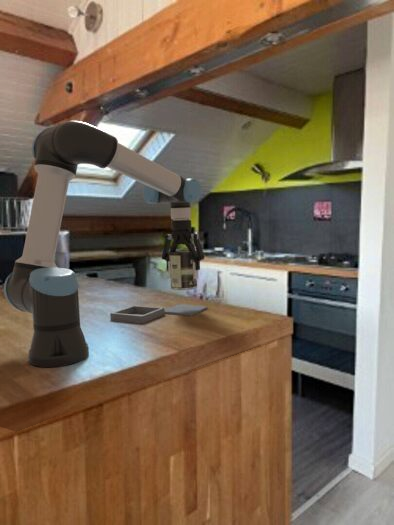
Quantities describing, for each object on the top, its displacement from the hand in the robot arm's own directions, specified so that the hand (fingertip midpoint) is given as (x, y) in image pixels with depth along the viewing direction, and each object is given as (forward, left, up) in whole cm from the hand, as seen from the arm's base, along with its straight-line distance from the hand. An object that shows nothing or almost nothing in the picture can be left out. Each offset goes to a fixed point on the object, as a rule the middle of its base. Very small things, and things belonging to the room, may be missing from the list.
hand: (183, 278), depth 162 cm
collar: (-15, +11, -13) cm, 22 cm away
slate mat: (0, 0, -13) cm, 13 cm away
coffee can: (0, 0, -4) cm, 4 cm away
